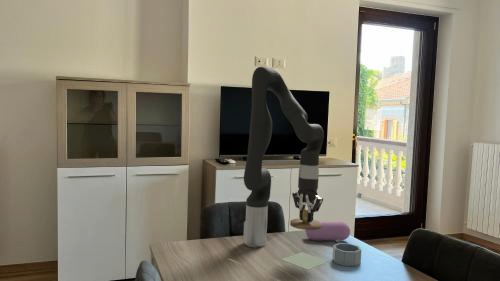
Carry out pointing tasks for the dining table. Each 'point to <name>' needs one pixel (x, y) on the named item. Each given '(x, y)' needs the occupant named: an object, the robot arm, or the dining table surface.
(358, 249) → the cup
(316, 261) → the mat
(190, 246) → the dining table surface
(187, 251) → the dining table surface
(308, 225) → the lid
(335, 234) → the toy
